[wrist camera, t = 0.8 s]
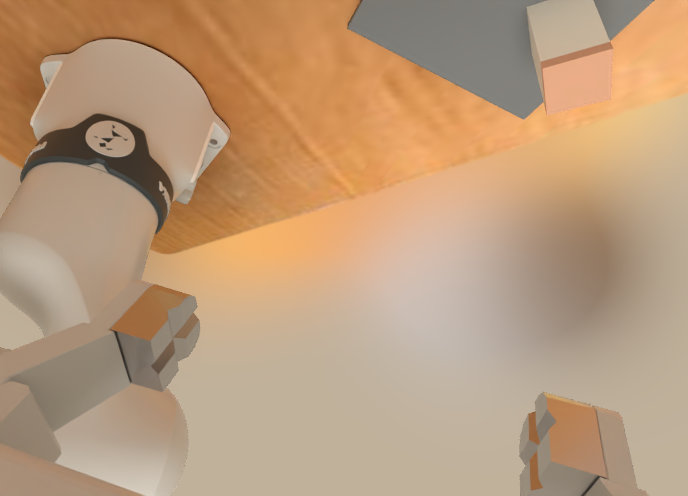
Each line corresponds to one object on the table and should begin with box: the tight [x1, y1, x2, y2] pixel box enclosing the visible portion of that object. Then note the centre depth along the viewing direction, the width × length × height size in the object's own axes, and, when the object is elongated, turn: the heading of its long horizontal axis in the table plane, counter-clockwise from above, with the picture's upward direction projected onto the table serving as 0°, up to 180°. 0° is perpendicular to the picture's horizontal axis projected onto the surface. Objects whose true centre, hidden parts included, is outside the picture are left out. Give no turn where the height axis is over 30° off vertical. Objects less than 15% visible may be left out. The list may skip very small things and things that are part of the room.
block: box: [526, 0, 613, 115], centre depth 37 cm, size 4×4×8 cm
